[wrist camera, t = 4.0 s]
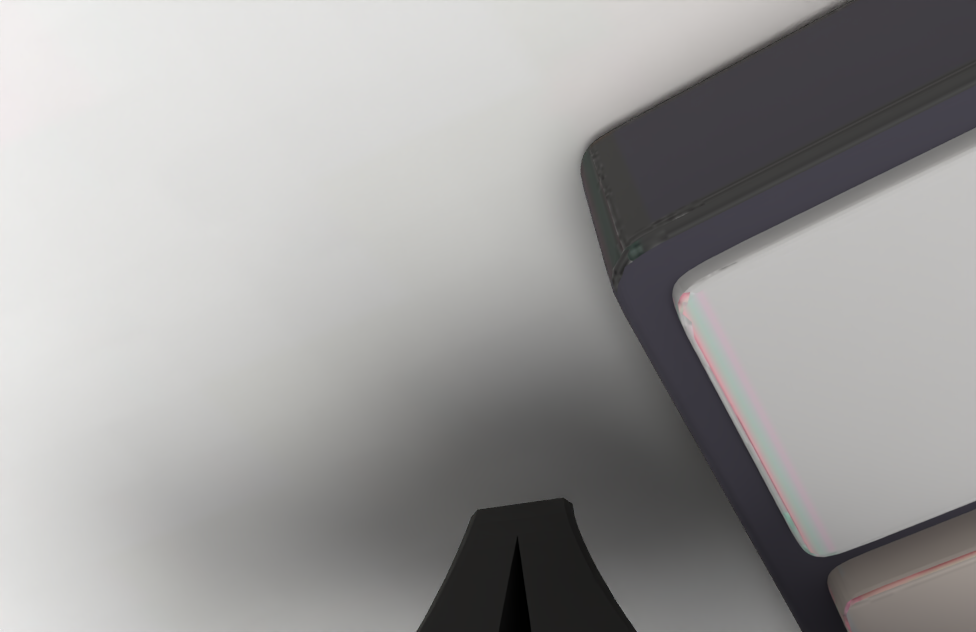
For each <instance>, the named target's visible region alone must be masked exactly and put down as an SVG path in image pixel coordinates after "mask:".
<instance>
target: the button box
mask: <svg viewBox="0 0 976 632" xmlns="http://www.w3.org/2000/svg"><path fill="white" fill-rule="evenodd" d="M581 178H582V182H583V187H584V191H585V195H586V198H587V202H588V205H589V209H590V213H591V216H592V220H593V223H594V227H595V231H596V234H597V238H598V241H599V245H600V248H601V252H602V256H603V259H604V263H605V266H606V270H607V273H608V276H609V279H610V282H611V286H612V289H613V292H614V294H615V296H616V298H617V300H618V302H619V304H620V306H621V309H622V311H623V313H624V315H625V317H626V318H627V320H628V322H629V324H630V325H631V327H632V329H633V331H634V333H635V334H636V336H637V338H638V340H639V342H640V343H641V345H642V347H643V349H644V350H645V352H646V354H647V356H648V358H649V359H650V361H651V363H652V365H653V366H654V368H655V370H656V372H657V374H658V375H659V377H660V379H661V381H662V383H663V384H664V386H665V388H666V390H667V391H668V393H669V395H670V397H671V399H672V400H673V402H674V404H675V406H676V407H677V409H678V411H679V413H680V415H681V416H682V418H683V420H684V422H685V423H686V425H687V427H688V429H689V431H690V432H691V434H692V436H693V438H694V440H695V441H696V443H697V445H698V447H699V448H700V450H701V452H702V454H703V456H704V457H705V459H706V461H707V463H708V464H709V466H710V468H711V470H712V472H713V473H714V475H715V477H716V479H717V480H718V482H719V484H720V486H721V488H722V489H723V491H724V493H725V495H726V497H727V498H728V500H729V502H730V504H731V505H732V507H733V509H734V511H735V513H736V514H737V516H738V518H739V520H740V521H741V523H742V525H743V527H744V529H745V530H746V532H747V534H748V536H749V538H750V539H751V541H752V543H753V545H754V546H755V548H756V550H757V552H758V554H759V555H760V557H761V559H762V561H763V562H764V564H765V566H766V568H767V570H768V571H769V573H770V575H771V577H772V578H773V580H774V582H775V584H776V586H777V587H778V589H779V591H780V593H781V595H782V596H783V598H784V600H785V602H786V603H787V605H788V607H789V609H790V611H791V612H792V614H793V616H794V618H795V619H796V621H797V623H798V625H799V627H800V628H801V630H802V632H976V0H853V1H851V2H849V3H847V4H845V5H844V6H842V7H840V8H838V9H836V10H834V11H832V12H831V13H829V14H827V15H825V16H823V17H821V18H819V19H818V20H816V21H814V22H812V23H810V24H808V25H806V26H805V27H803V28H801V29H799V30H797V31H795V32H793V33H792V34H790V35H788V36H786V37H784V38H782V39H780V40H779V41H777V42H775V43H773V44H771V45H769V46H767V47H766V48H764V49H762V50H760V51H758V52H756V53H754V54H753V55H751V56H749V57H747V58H745V59H743V60H741V61H740V62H738V63H736V64H734V65H732V66H730V67H728V68H727V69H725V70H723V71H721V72H719V73H717V74H715V75H714V76H712V77H710V78H708V79H706V80H704V81H702V82H701V83H699V84H697V85H695V86H693V87H691V88H689V89H688V90H686V91H684V92H682V93H680V94H678V95H676V96H675V97H673V98H671V99H669V100H667V101H665V102H663V103H662V104H660V105H658V106H656V107H654V108H652V109H650V110H649V111H647V112H645V113H643V114H641V115H639V116H637V117H636V118H634V119H632V120H630V121H628V122H626V123H624V124H623V125H621V126H619V127H617V128H615V129H613V130H612V131H610V132H608V133H607V134H605V135H603V136H602V137H600V138H598V139H597V140H596V141H595V142H593V143H592V144H591V145H590V147H589V148H588V149H587V151H586V152H585V154H584V156H583V159H582V163H581Z"/></svg>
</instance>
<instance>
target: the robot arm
mask: <svg viewBox="0 0 976 632" xmlns="http://www.w3.org/2000/svg"><path fill="white" fill-rule="evenodd" d="M417 632H637V631H636V630H635V629H634V627H633V626H632V624H631V623H630V621H629V620H628V618H627V617H626V616H625V614H624V613H623V611H622V609H621V608H620V606H619V605H618V603H617V602H616V600H615V599H614V597H613V595H612V593H611V592H610V590H609V588H608V587H607V585H606V583H605V581H604V580H603V578H602V576H601V575H600V573H599V571H598V569H597V568H596V566H595V564H594V562H593V560H592V558H591V556H590V554H589V552H588V550H587V547H586V545H585V543H584V541H583V539H582V536H581V534H580V531H579V529H578V526H577V523H576V519H575V516H574V510H573V504H572V503H571V502H569V501H568V500H566V499H565V498H558V499H551V500H544V501H536V502H529V503H522V504H515V505H508V506H501V507H494V508H487V509H480V510H477V511H476V512H475V514H474V515H473V516H472V517H471V520H470V522H469V525H468V528H467V530H466V533H465V535H464V538H463V540H462V543H461V545H460V547H459V550H458V552H457V554H456V556H455V559H454V561H453V563H452V565H451V567H450V569H449V571H448V574H447V576H446V578H445V580H444V582H443V584H442V586H441V587H440V589H439V591H438V593H437V595H436V597H435V599H434V601H433V603H432V605H431V607H430V609H429V611H428V613H427V614H426V616H425V618H424V620H423V622H422V623H421V625H420V627H419V628H418V630H417Z"/></svg>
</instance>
